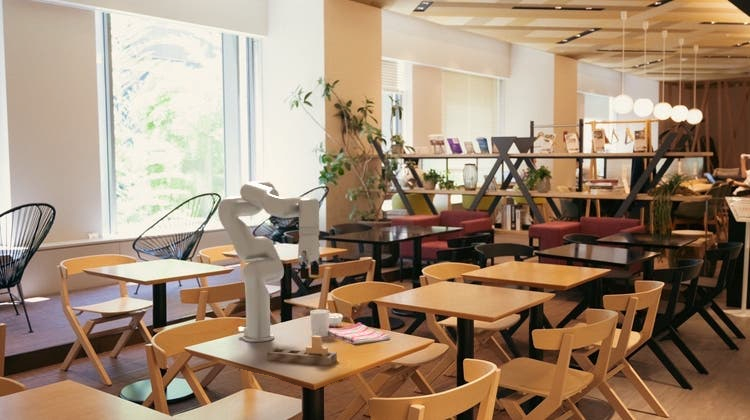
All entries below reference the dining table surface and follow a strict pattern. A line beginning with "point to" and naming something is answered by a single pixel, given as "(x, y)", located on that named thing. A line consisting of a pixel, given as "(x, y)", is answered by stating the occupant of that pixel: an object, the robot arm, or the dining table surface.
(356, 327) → the dish towel
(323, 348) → the clip
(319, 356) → the wooden compartment tray
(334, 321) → the white bowl
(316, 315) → the white cup
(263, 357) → the dining table surface
